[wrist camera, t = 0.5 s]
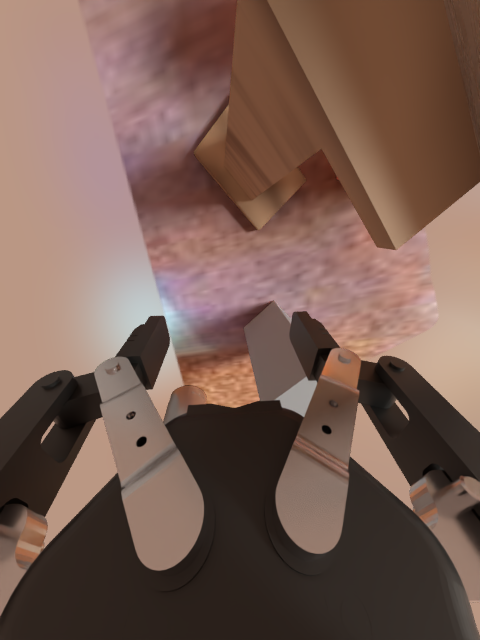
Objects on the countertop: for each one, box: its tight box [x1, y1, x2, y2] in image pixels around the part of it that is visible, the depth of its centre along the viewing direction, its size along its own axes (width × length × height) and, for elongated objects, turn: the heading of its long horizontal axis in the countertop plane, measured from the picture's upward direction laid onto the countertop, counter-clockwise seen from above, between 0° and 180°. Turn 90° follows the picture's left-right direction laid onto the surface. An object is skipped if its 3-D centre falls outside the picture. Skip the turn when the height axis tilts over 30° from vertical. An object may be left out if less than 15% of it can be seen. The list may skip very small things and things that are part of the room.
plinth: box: [243, 301, 317, 417], centre depth 34 cm, size 9×9×21 cm
